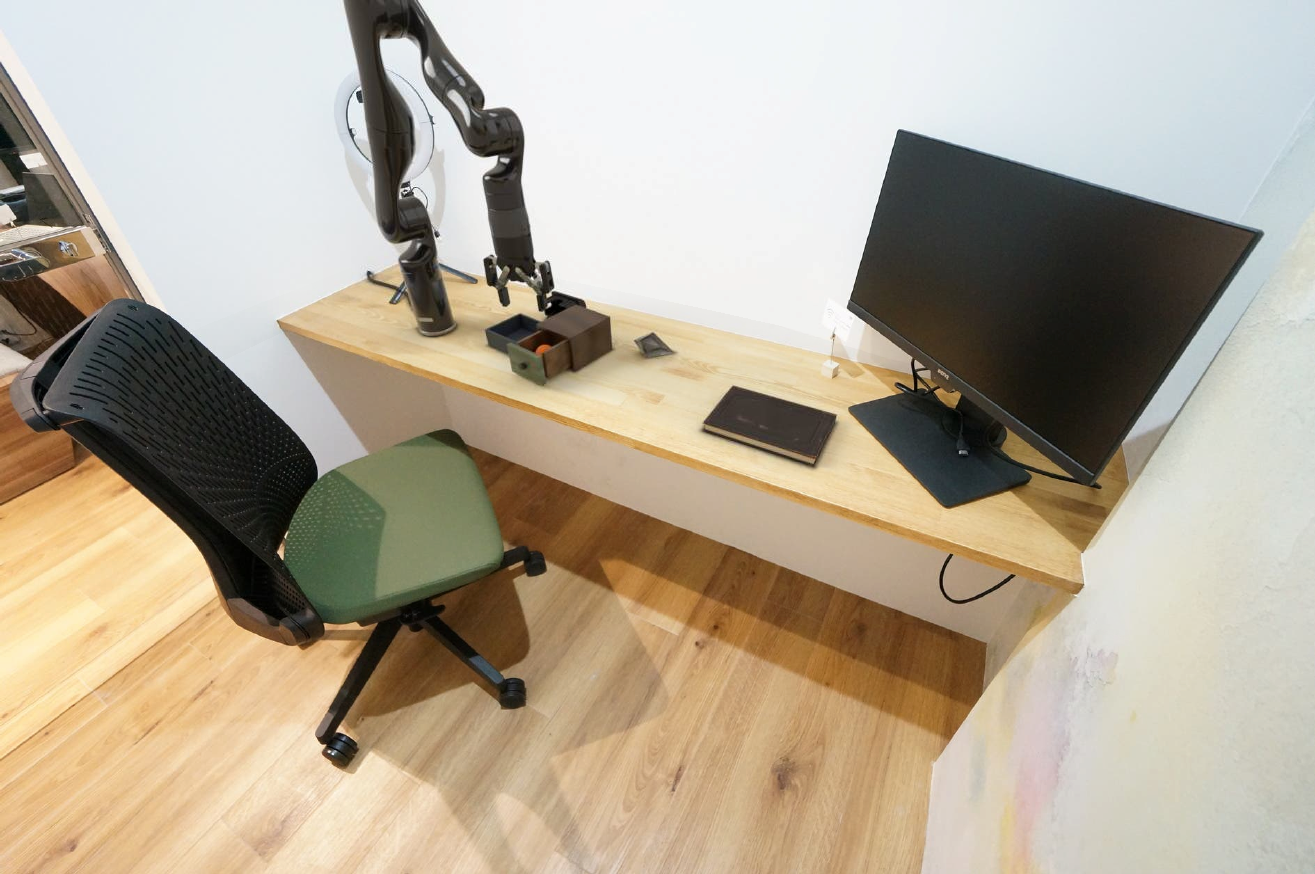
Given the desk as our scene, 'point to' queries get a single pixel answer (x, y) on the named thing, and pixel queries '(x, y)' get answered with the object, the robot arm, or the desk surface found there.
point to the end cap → (561, 303)
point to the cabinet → (581, 333)
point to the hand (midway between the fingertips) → (524, 307)
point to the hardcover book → (771, 424)
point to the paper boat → (652, 345)
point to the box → (510, 331)
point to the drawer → (531, 363)
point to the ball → (542, 350)
